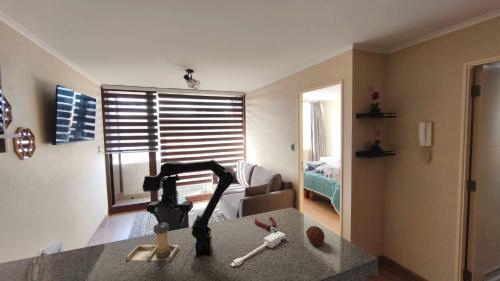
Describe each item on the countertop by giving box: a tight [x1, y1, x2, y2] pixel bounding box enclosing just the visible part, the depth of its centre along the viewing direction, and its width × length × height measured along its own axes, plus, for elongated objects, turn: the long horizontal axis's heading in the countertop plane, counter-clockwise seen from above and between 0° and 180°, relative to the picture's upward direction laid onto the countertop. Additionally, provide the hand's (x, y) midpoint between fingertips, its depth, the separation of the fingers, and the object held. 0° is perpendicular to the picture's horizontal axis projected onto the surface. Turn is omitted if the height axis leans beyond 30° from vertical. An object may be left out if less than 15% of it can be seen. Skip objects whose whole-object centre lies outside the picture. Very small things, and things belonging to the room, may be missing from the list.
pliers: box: [254, 216, 279, 234], centre depth 121 cm, size 12×20×3 cm, turn 19°
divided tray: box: [125, 243, 180, 261], centre depth 96 cm, size 19×9×3 cm, turn 89°
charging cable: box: [230, 230, 286, 267], centre depth 99 cm, size 5×32×3 cm, turn 134°
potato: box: [305, 225, 325, 247], centre depth 105 cm, size 8×12×8 cm, turn 16°
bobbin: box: [152, 222, 171, 259], centre depth 94 cm, size 6×6×13 cm
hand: (170, 225), depth 96 cm, fingers open, 9 cm apart
